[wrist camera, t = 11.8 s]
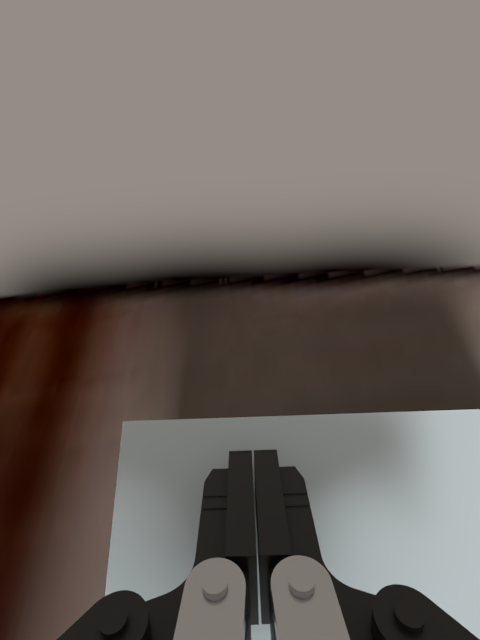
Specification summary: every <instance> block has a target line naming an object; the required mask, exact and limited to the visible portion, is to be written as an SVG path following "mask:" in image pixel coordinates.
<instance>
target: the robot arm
mask: <svg viewBox="0 0 480 640" xmlns="http://www.w3.org/2000/svg"><path fill="white" fill-rule="evenodd" d="M254 475H255V504H256V524H257V544H258V564H259V584H260V604H261V623H262V624H270V633H271V640H480V639H478V638H477V637H476V636H475V635H474V634H472V633H471V632H470V631H469V630H467V629H466V628H465V627H464V626H462V625H461V624H460V623H459V622H457V621H456V620H455V619H454V618H452V617H451V616H450V615H449V614H447V613H446V612H445V611H444V610H442V609H441V608H440V607H439V606H437V605H436V604H435V603H434V602H433V601H431V600H430V599H429V598H428V597H426V596H425V595H424V594H422V593H421V592H419V591H417V590H416V589H414V588H411V587H409V586H405V585H400V584H392V585H388V586H385V587H383V588H382V589H380V590H379V591H378V593H377V594H376V595H374V594H371V593H367V592H364V591H361V590H358V589H355V588H352V587H349V586H347V585H345V584H343V583H342V582H340V581H339V580H338V579H336V578H335V577H334V576H333V575H332V574H331V573H330V571H329V570H328V569H327V567H326V566H325V564H324V562H323V559H322V556H321V552H320V547H319V543H318V538H317V534H316V529H315V525H314V520H313V516H312V511H311V508H310V502H309V498H308V494H307V489H306V484H305V480H304V478H303V476H302V475H301V474H300V472H299V471H298V470H297V469H296V467H295V466H286V467H279V462H278V455H277V450H276V449H273V450H254ZM251 625H259V614H258V581H257V550H256V529H255V508H254V486H253V465H252V450H244V451H229V465H228V468H225V469H212V471H211V472H210V474H209V475H208V477H207V478H206V480H205V481H204V488H203V499H202V505H201V513H200V521H199V530H198V538H197V546H196V555H195V561H194V565H193V568H192V570H191V572H190V574H189V575H188V577H187V578H186V580H185V581H184V582H183V583H182V584H181V585H179V586H178V587H177V588H176V589H174V590H172V591H171V592H168V593H166V594H164V595H161V596H158V597H156V598H153V599H150V600H148V601H145V600H144V599H143V598H142V596H140V595H139V594H138V593H135V592H133V591H129V590H121V591H116V592H113V593H110V594H108V595H106V596H105V597H103V598H102V599H100V600H99V601H98V602H97V603H95V604H94V605H93V606H92V607H91V608H90V609H89V610H88V611H87V612H86V613H85V614H84V615H83V616H82V617H81V618H79V619H78V620H77V621H76V622H75V623H74V624H73V625H72V626H71V627H70V628H69V629H68V630H67V631H66V632H65V633H64V634H62V635H61V636H60V637H59V638H58V639H57V640H251Z"/></svg>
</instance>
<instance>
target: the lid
mask: <svg viewBox="0 0 480 640" xmlns="http://www.w3.org/2000/svg"><path fill="white" fill-rule="evenodd" d="M273 449H276V450H277V455H278V462H279V467H286V466H295V467H296V469H297V470H298V471H299V472H300V474H301V475H302V476H303V478H304V480H305V484H306V489H307V494H308V498H309V502H310V508H311V511H312V516H313V520H314V525H315V529H316V534H317V538H318V543H319V547H320V552H321V556H322V559H323V562H324V564H325V566H326V567H327V569H328V570H329V571H330V573H331V574H332V575H333V576H334V577H335V578H336V579H338V580H339V581H340V582H342V583H343V584H345V585H347V586H349V587H352V588H355V589H358V590H361V591H364V592H367V593H371V594H374V595H376V594H377V593H378V591H379V590H380V589H382V588H383V587H385V586H388V585H392V584H400V585H405V586H409V587H411V588H414V589H416V590H417V591H419V592H421V593H422V594H424V595H425V596H426V597H428V598H429V599H430V600H431V601H433V602H434V603H435V604H436V605H437V606H439V607H440V608H441V609H442V610H444V611H445V612H446V613H447V614H449V615H450V616H451V617H452V618H454V619H455V620H456V621H457V622H459V623H460V624H461V625H462V626H464V627H465V628H466V629H467V630H469V631H470V632H471V633H472V634H474V635H475V636H476V637H477V638H478V639H480V409H468V410H439V411H410V412H380V413H351V414H322V415H292V416H263V417H233V418H204V419H175V420H145V421H123V425H122V435H121V445H120V454H119V464H118V474H117V484H116V493H115V503H114V513H113V522H112V532H111V542H110V551H109V561H108V571H107V581H106V590H105V596H106V595H108V594H110V593H113V592H116V591H121V590H129V591H133V592H135V593H138V594H139V595H140V596H142V598H143V599H144V600H145V601H148V600H150V599H153V598H156V597H158V596H161V595H164V594H166V593H168V592H171V591H172V590H174V589H176V588H177V587H178V586H179V585H181V584H182V583H183V582H184V581H185V580H186V578H187V577H188V575H189V574H190V572H191V570H192V568H193V565H194V561H195V555H196V546H197V538H198V530H199V521H200V513H201V505H202V499H203V488H204V481H205V480H206V478H207V477H208V475H209V474H210V472H211V471H212V469H225V468H228V465H229V451H244V450H252V465H253V486H254V508H255V529H256V550H257V581H258V614H259V625H251V640H271V633H270V624H262V623H261V604H260V584H259V564H258V544H257V524H256V504H255V475H254V450H273Z"/></svg>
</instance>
